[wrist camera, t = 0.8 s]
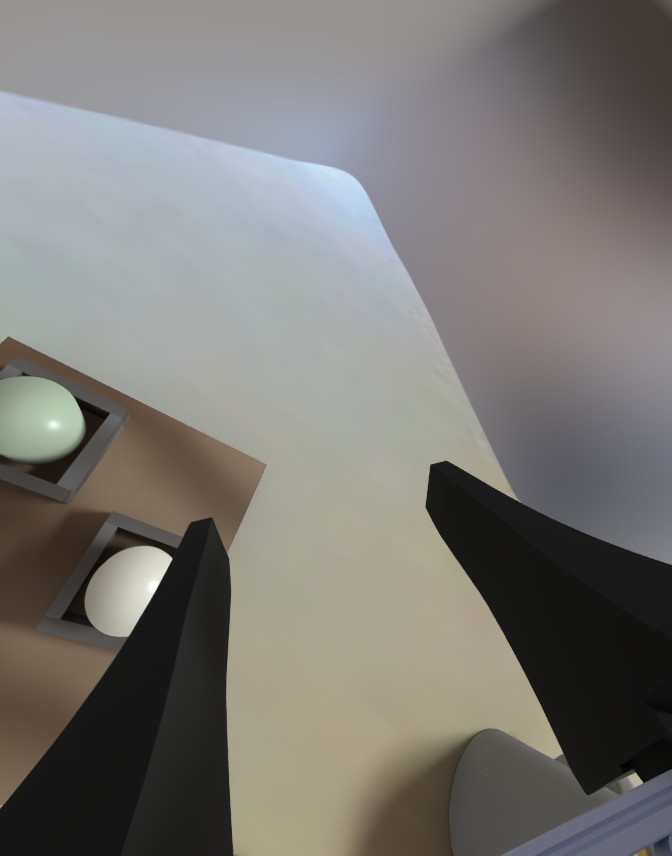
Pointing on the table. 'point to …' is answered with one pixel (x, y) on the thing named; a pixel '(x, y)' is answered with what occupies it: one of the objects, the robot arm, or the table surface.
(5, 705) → the key panel
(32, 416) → the sage key
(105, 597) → the cream key
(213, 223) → the table surface
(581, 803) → the coffee mug
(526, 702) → the table surface
